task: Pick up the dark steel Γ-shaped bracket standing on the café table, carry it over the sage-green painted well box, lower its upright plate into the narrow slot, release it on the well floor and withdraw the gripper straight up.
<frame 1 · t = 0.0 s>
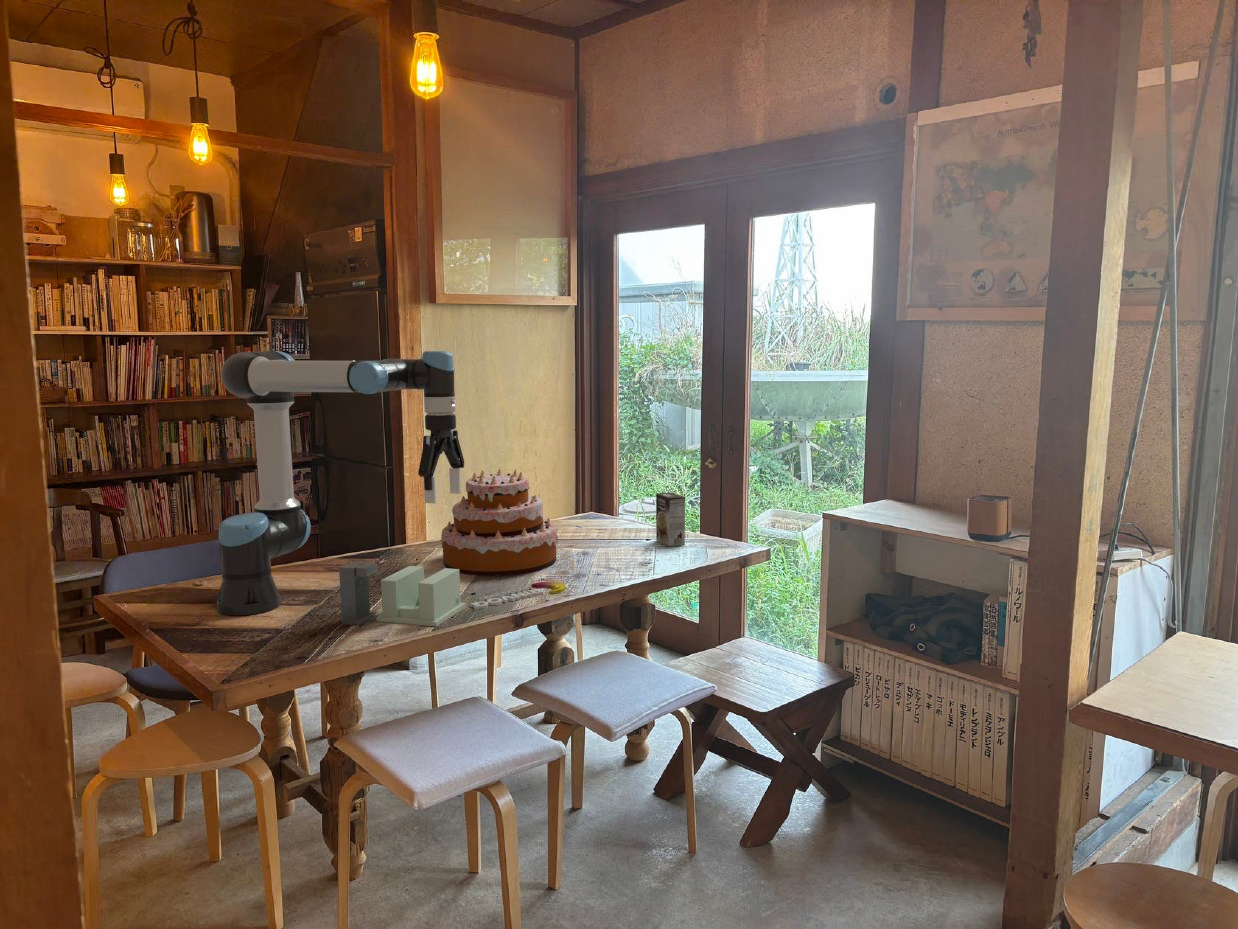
hand: (443, 498, 226), 28 cm above the table, fingers open, 13 cm apart
well: (422, 613, 224), on the table
cake: (500, 562, 275), on the table
bracket: (356, 620, 219), on the table
logo: (516, 598, 238), on the table
instant coffee box: (670, 543, 297), on the table
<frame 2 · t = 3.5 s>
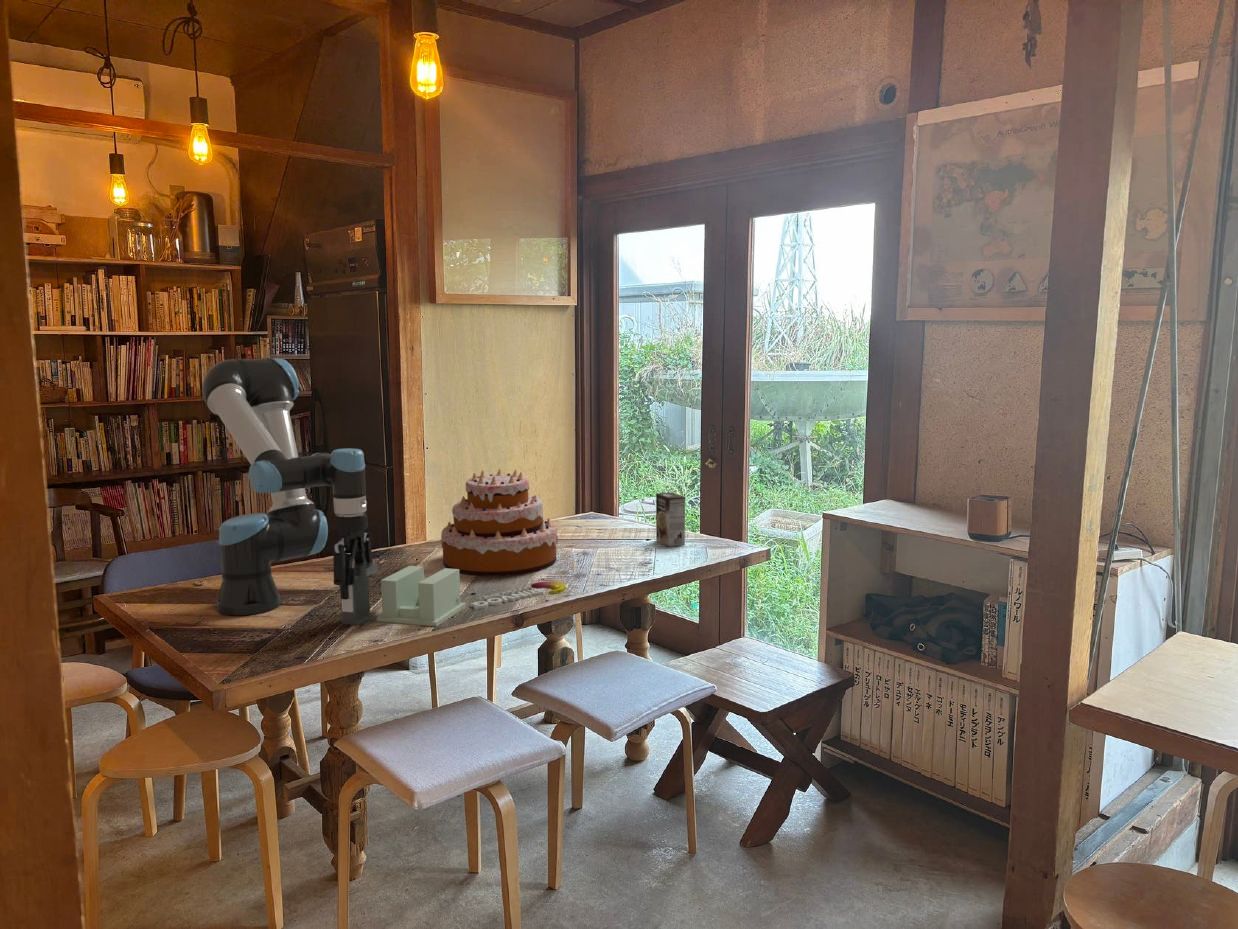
hand: (355, 607, 218), 3 cm above the table, fingers closed on bracket, 6 cm apart
bracket: (356, 620, 219), on the table, touching gripper
everything else where it was.
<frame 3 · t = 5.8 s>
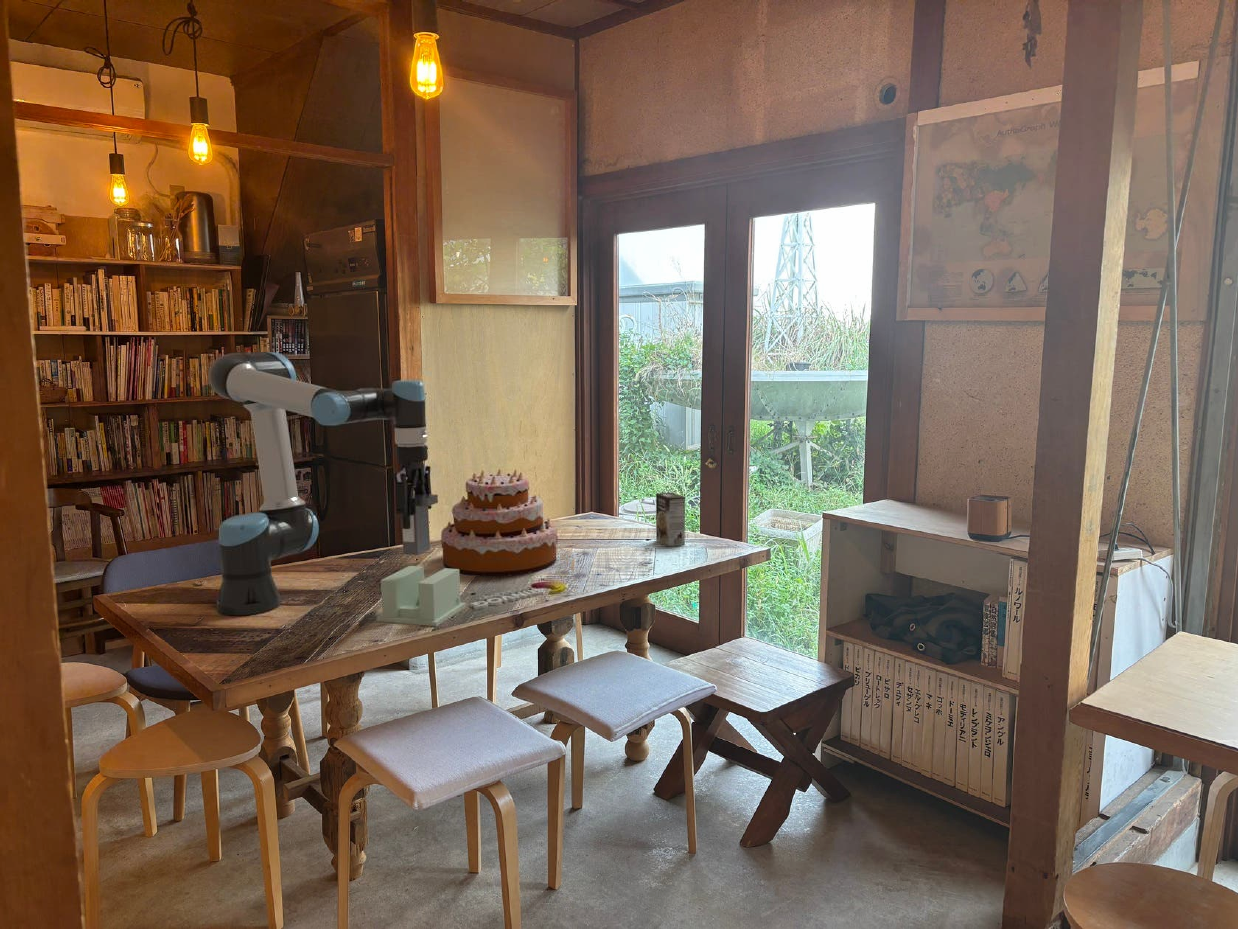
hand: (416, 538, 220), 19 cm above the table, fingers closed on bracket, 6 cm apart
bracket: (416, 551, 221), point 16 cm above the table, touching gripper
everything else where it was.
when the fingers open (5 cm above the table, at t = 8.2 s): bracket stays where it is, resting on well.
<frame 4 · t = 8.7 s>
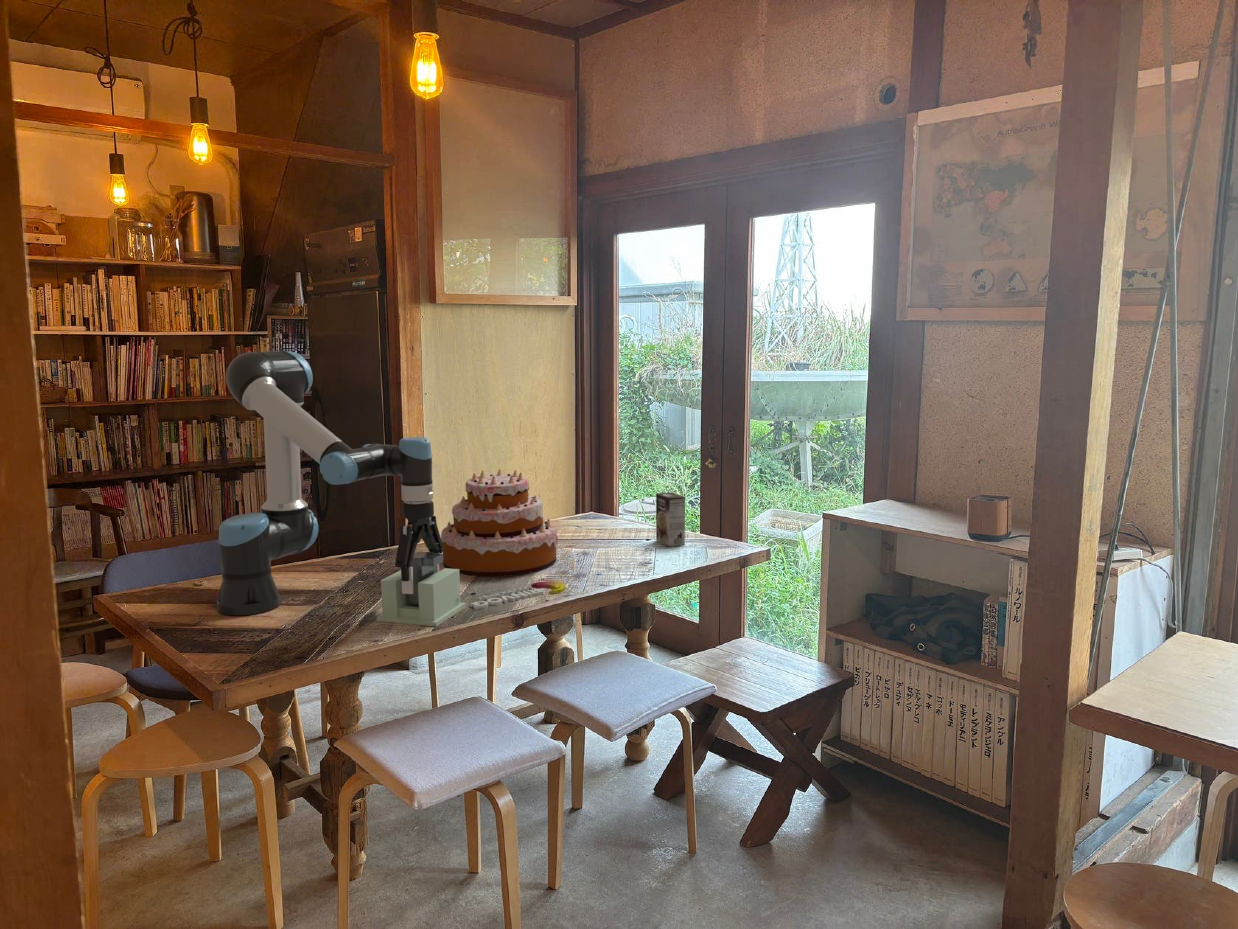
hand: (421, 586, 223), 7 cm above the table, fingers open, 13 cm apart
bracket: (422, 609, 224), point 1 cm above the table, touching well
everything else where it was.
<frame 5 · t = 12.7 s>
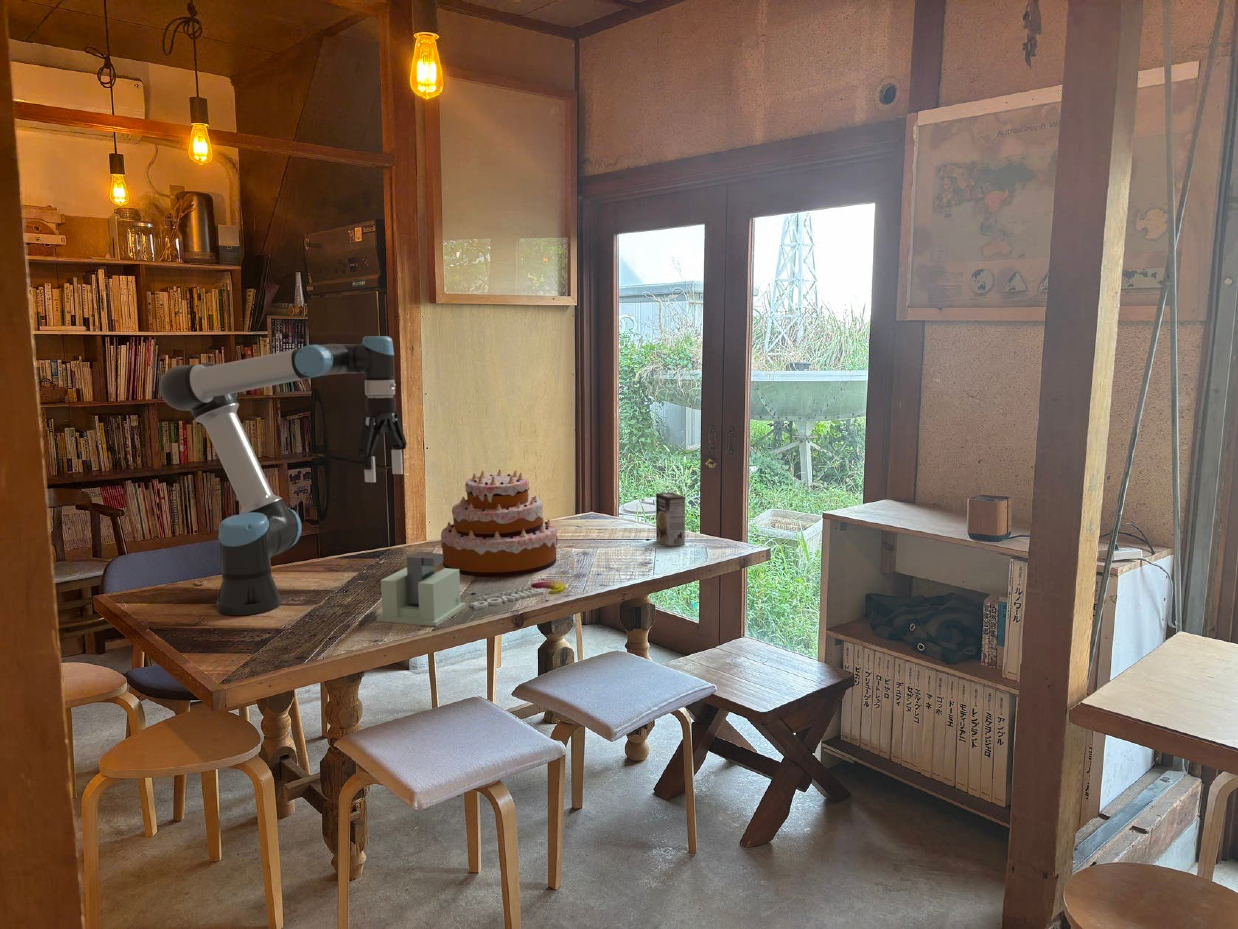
hand: (384, 478, 235), 32 cm above the table, fingers open, 13 cm apart
nothing on the table moved.
at the end: bracket 0.0 cm off-centre on the well, point 1.0 cm above the well's base; bracket tilted 0°; the gripper is holding nothing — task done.
